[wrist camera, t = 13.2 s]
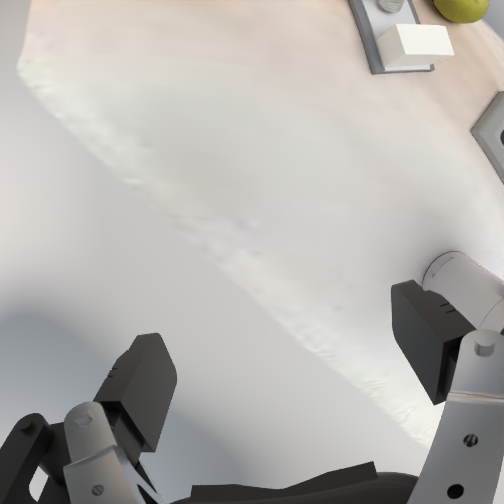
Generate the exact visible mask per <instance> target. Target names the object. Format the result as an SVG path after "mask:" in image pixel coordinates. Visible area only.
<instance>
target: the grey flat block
mask: <svg viewBox="0 0 504 504" xmlns="http://www.w3.org/2000/svg"><path fill="white" fill-rule="evenodd" d="M470 132H471V133H472V135H473V136H474V138H475V139H476V141H477V142H478V144H479V145H480V147H481V148H482V150H483V151H484V153H485V154H486V156H487V157H488V159H489V161H490V162H491V164H492V165H493V167H494V169H495V170H496V172H497V174H498V175H499V177H500V179H501V180H502V182H503V184H504V91H502V92H499V93H498V94H497V95H496V97H495V98H494V100H493V101H492V103H491V104H490V105H489V107H488V108H487V109H486V111H485V112H484V114H483V115H482V116H481V118H480V119H479V120H478V122H477V123H476V124H475V126H474V127H473V128H472V130H471V131H470Z"/></svg>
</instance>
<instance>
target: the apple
mask: <svg viewBox="0 0 504 504" xmlns="http://www.w3.org/2000/svg"><path fill="white" fill-rule="evenodd" d="M433 2H434V5H435V6H436V8H437V9H438V10H439V12H440V13H441V14H442V15H443V16H444V17H445V18H447V19H448V20H451V21H453V22H456V23H473V22H476V21H478V20H480V19H481V18H482V17H483V16H484V15H485V14H486V12H487V10H488V7H489V0H433Z"/></svg>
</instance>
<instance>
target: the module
mask: <svg viewBox="0 0 504 504" xmlns="http://www.w3.org/2000/svg"><path fill="white" fill-rule="evenodd" d="M377 43H378V46H379V50H380V53H381V56H382V60H383V63H384V67H389V66H413V65H431V64H434V63H436V62H439V61H441V60H444V59H446V58H449V57H452V56H454V52H453V48H452V45H451V42H450V39H449V36H448V33H447V30H446V27H445V26H436V25H421V24H395V25H394V26H392V27H391V28H390V29H389V30H388V31H386V32H385V33H384V34H383V35H382V36H380V37H379V38H378V39H377Z"/></svg>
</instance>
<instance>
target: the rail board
mask: <svg viewBox="0 0 504 504" xmlns="http://www.w3.org/2000/svg"><path fill="white" fill-rule="evenodd" d="M348 1H349V4H350V6H351V9H352V12H353V15H354V17H355V20H356V23H357V26H358V29H359V32H360V35H361V38H362V41H363V44H364V48H365V51H366V54H367V58H368V61H369V64H370V68H371V72H372V75H374V74H387V73H405V72H430V71H433V70H435V68H434V65H433V64H431V65H413V66H389V67H384V63H383V60H382V56H381V53H380V50H379V46H378V43H377V39H378V38H379V37H380V36H382V35H383V34H384V33H385V32H386V31H388V30H389V29H390V28H391V27H392V26H394V25H395V24H420V21H419V19H418V16H417V13H416V11H415V8H414V5H413V3H412V0H405V1H404V3H403V5H402V8H401V10H400V11H399V12H390V11H387V10H385V9H384V8H383V7H382V6H381V5H380V3H379V0H348Z"/></svg>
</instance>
